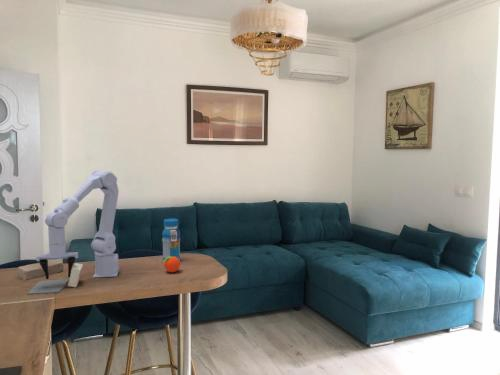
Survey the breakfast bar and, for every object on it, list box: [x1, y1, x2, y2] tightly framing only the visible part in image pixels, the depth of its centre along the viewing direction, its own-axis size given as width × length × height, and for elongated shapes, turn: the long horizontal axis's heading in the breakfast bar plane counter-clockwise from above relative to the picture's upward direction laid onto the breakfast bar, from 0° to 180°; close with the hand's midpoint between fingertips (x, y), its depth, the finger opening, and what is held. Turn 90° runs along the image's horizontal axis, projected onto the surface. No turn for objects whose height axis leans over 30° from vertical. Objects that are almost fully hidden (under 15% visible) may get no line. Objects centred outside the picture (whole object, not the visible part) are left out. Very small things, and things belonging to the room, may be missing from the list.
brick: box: [16, 259, 64, 281], centre depth 179 cm, size 17×8×5 cm, turn 141°
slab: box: [67, 262, 84, 288], centre depth 165 cm, size 3×8×7 cm, turn 15°
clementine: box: [162, 256, 181, 273], centre depth 182 cm, size 8×7×7 cm
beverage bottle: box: [161, 218, 181, 262], centre depth 200 cm, size 8×8×20 cm
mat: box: [27, 278, 70, 295], centre depth 162 cm, size 11×15×1 cm
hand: (58, 277), depth 162 cm, fingers open, 7 cm apart
